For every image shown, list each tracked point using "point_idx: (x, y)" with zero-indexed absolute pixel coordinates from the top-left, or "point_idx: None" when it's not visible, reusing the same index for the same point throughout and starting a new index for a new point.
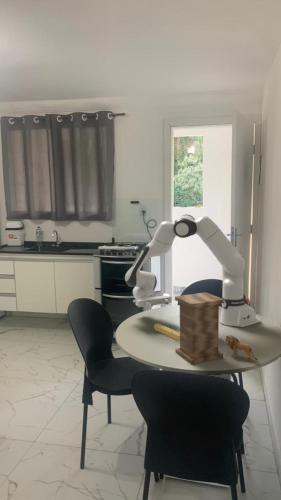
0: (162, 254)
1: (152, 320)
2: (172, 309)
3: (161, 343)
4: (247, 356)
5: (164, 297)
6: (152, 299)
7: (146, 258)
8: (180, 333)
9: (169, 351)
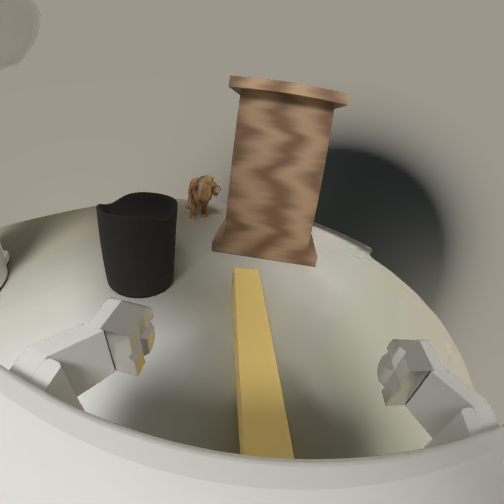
0: None
1: None
2: None
3: (332, 317)
4: (189, 205)
5: (7, 385)
6: (381, 458)
7: None
8: (316, 202)
9: (328, 275)
